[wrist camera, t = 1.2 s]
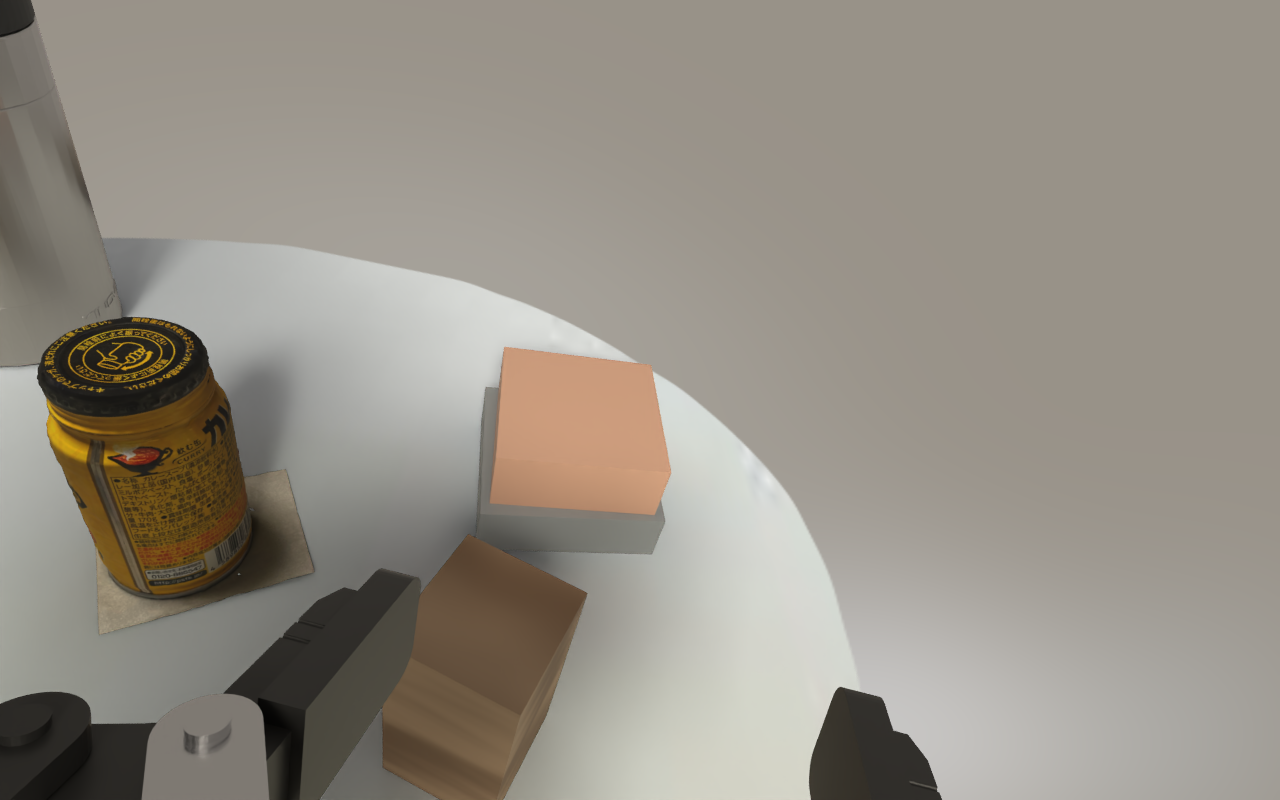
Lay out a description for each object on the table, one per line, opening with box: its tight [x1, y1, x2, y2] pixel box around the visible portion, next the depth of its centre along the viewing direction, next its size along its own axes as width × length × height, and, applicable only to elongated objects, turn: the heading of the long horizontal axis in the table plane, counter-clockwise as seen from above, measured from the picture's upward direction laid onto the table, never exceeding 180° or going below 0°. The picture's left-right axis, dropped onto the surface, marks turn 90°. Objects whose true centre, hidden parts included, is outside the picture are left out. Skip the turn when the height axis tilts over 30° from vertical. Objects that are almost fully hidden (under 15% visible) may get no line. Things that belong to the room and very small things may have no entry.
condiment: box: [37, 317, 314, 635], centre depth 29 cm, size 7×8×12 cm
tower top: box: [490, 347, 671, 515], centre depth 39 cm, size 9×9×4 cm
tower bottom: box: [476, 387, 665, 554], centre depth 41 cm, size 10×10×4 cm
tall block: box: [382, 534, 587, 800], centre depth 26 cm, size 5×5×10 cm
